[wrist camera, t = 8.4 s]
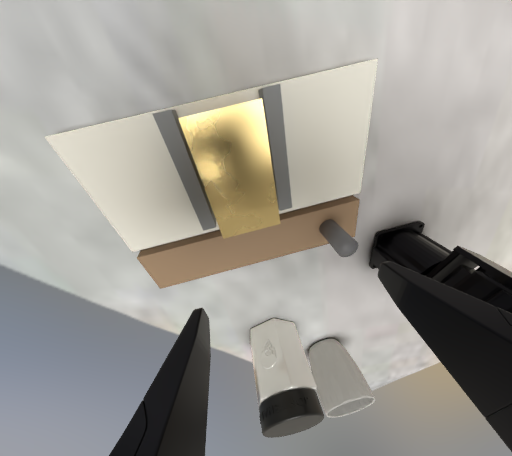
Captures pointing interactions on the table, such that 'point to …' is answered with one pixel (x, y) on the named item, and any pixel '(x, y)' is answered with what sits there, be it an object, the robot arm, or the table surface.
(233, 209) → the bar
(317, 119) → the door board
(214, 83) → the table surface
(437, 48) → the table surface
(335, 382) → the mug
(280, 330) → the jar
